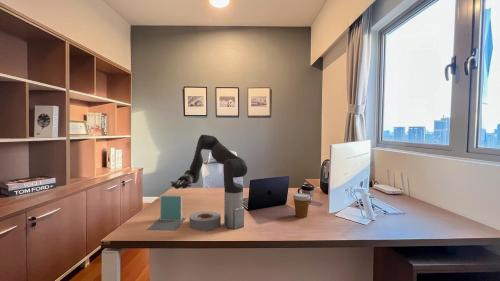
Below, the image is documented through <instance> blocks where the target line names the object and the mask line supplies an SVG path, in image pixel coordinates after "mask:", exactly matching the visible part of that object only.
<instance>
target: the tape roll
mask: <svg viewBox="0 0 500 281" xmlns="http://www.w3.org/2000/svg"><path fill="white" fill-rule="evenodd" d="M221 218H222V216H221V214H220V213H218V212H216V211H200V212H199V211H198V212H194V213H191V214H190V215H189V226H188V227H189V228H190V229H192V230H196V231H205V232H208V231H214V230H217V229H219V228H221V225H222V222H221V221H222V220H221Z"/></svg>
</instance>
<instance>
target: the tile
mask: <svg viewBox="0 0 500 281" xmlns="http://www.w3.org/2000/svg"><path fill="white" fill-rule="evenodd" d="M159 198H160V199H159V200H160V202H159V204H160V205H159V206H160V207H159V212H160V213H159V216H160V217H159V218H160V220H182V218H183V194H160V196H159Z"/></svg>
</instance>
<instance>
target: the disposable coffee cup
mask: <svg viewBox="0 0 500 281" xmlns="http://www.w3.org/2000/svg"><path fill="white" fill-rule="evenodd" d="M292 198H293V203H294V205H293V206H294V211H295V212H294V213H295V217H297V218H299V217H300V219H303V218H308V212H309V206H310V205H309V204H310V199H311V197H310V194H309V193H304V192H303V193H301V192H296V193H294V194H293V196H292Z"/></svg>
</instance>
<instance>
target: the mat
mask: <svg viewBox="0 0 500 281" xmlns="http://www.w3.org/2000/svg"><path fill="white" fill-rule="evenodd" d="M186 219H187V218H186V217H182V220H160V217H159V218H158V219H156V221H154V222H153V224H151V225H150V226H149V227H148V228H147V229H146V231H175V232H176V231H177V230H178V229H179V228H180V226H181V225H182V224H183V223H184V221H185V220H186Z"/></svg>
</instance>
